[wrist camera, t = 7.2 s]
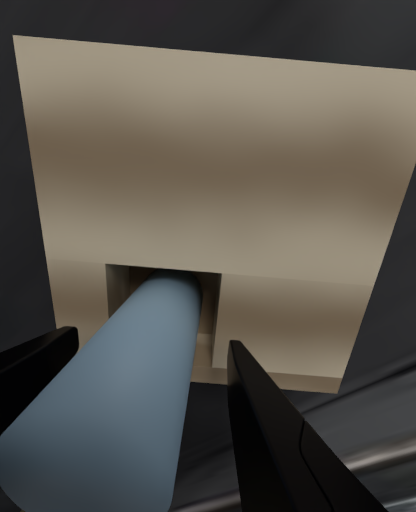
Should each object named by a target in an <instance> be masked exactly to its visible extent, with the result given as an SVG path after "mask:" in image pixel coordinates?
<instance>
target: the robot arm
mask: <svg viewBox="0 0 416 512" xmlns="http://www.w3.org/2000/svg"><path fill="white" fill-rule="evenodd" d="M78 349H79V335H78V329H77V327H75V326H63V327H61V328H58V329H56V330H54V331H51V332H49V333H46V334H44V335H42V336H39V337H37V338H34V339H32V340H30V341H27V342H25V343H22V344H20V345H18V346H15V347H13V348H10V349H8V350H6V351H3V352H1V353H0V436H1V435H2V434H3V432H4V431H5V430H6V429H7V428H8V427H9V426H10V425H11V424H12V423H13V422H14V421H15V420H16V418H17V417H18V416H19V415H20V414H21V413H22V412H23V411H24V410H25V409H26V408H27V407H28V406H29V404H30V403H31V402H32V401H33V400H34V399H35V398H36V397H37V396H38V395H39V394H40V393H41V392H42V390H43V389H44V388H45V387H46V386H47V385H48V384H49V383H50V382H51V381H52V380H53V379H54V378H55V376H56V375H57V374H58V373H59V372H60V371H61V370H62V369H63V368H64V367H65V366H66V365H67V364H68V362H69V361H70V360H71V359H72V358H73V357H74V356H75V355H76V353H77V351H78ZM227 387H228V408H229V417H230V424H231V431H232V439H233V446H234V454H235V461H236V469H237V476H238V483H239V491H240V498H241V506H242V512H388V511H387V510H386V509H385V508H384V506H383V505H382V504H381V503H380V502H379V501H378V500H377V499H376V498H375V497H374V496H373V495H372V494H371V493H370V492H369V491H368V490H367V488H366V487H365V486H364V485H363V484H362V483H361V482H360V481H359V480H358V479H357V478H356V477H355V476H354V475H353V474H352V472H351V471H350V470H349V469H348V468H347V467H346V466H345V465H344V464H343V463H342V462H341V460H340V459H339V458H338V457H337V456H336V455H335V454H334V453H333V451H332V450H331V449H330V448H329V447H328V446H327V444H326V443H325V442H324V441H323V440H322V439H321V437H320V436H319V435H318V434H317V433H316V432H315V430H314V429H313V428H312V427H311V426H310V424H309V423H308V422H307V421H304V420H305V419H304V417H303V416H302V415H301V414H300V412H299V411H298V410H297V409H296V407H295V406H294V405H293V404H292V403H291V401H290V400H289V399H288V398H287V397H286V395H285V394H284V393H283V392H282V390H281V389H280V388H279V387H278V386H277V384H276V383H275V382H274V381H273V380H272V378H271V377H270V376H269V375H268V373H267V372H266V371H265V370H264V369H263V367H262V366H261V365H260V364H259V363H258V361H257V360H256V359H255V358H254V356H253V355H252V354H251V353H250V352H249V350H248V349H247V348H246V347H245V346H244V344H243V343H242V342H241V341H240V340H230V341H229V346H228V354H227Z"/></svg>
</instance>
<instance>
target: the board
mask: <svg viewBox="0 0 416 512" xmlns="http://www.w3.org/2000/svg"><path fill="white" fill-rule="evenodd" d="M13 40H14V47H15V54H16V60H17V67H18V74H19V80H20V87H21V94H22V100H23V107H24V114H25V120H26V127H27V134H28V140H29V147H30V153H31V160H32V167H33V173H34V180H35V187H36V193H37V200H38V207H39V213H40V220H41V227H42V233H43V240H44V247H45V253H46V260H47V267H48V273H49V280H50V287H51V293H52V300H53V306H54V313H55V320H56V326H57V329H58V328H61V327H63V326H75V327H77V329H78V335H79V349H78V351H77V353H78V352H79V351H80V350H81V348H82V347H83V346H84V345H85V344H86V343H87V342H88V341H89V340H90V339H91V338H92V337H93V336H94V335H95V333H96V332H97V331H98V330H99V329H100V328H101V327H102V326H103V325H104V324H105V323H106V322H107V321H108V319H109V318H110V317H111V316H112V315H113V314H114V313H115V312H116V311H117V310H118V309H119V308H120V307H121V305H122V304H123V303H124V302H125V301H126V300H127V299H128V298H129V297H130V296H131V295H132V294H133V293H134V291H135V290H136V289H137V288H138V287H139V286H140V285H141V284H142V283H143V282H144V281H145V280H146V279H147V277H148V276H149V275H150V274H151V273H152V272H154V271H155V270H157V269H159V268H165V269H177V270H188V271H189V272H191V273H192V274H193V275H194V276H195V277H196V278H197V279H198V280H199V282H200V284H201V286H202V290H203V302H202V309H201V315H200V322H199V328H198V335H197V341H196V348H195V354H194V361H193V367H192V374H191V380H190V382H202V383H215V384H227V354H228V346H229V341H230V340H240V341H241V342H242V343H243V344H244V346H245V347H246V348H247V349H248V350H249V352H250V353H251V354H252V355H253V356H254V358H255V359H256V360H257V361H258V363H259V364H260V365H261V366H262V367H263V369H264V370H265V371H266V372H267V373H268V375H269V376H270V377H271V378H272V380H273V381H274V382H275V383H276V384H277V386H278V387H279V388H280V389H288V390H300V391H313V392H325V393H337V392H338V389H339V386H340V383H341V380H342V377H343V375H344V372H345V369H346V366H347V363H348V360H349V357H350V354H351V351H352V348H353V345H354V342H355V339H356V336H357V333H358V331H359V328H360V325H361V322H362V319H363V316H364V313H365V310H366V307H367V304H368V301H369V298H370V295H371V292H372V289H373V287H374V284H375V281H376V278H377V275H378V272H379V269H380V266H381V263H382V260H383V257H384V254H385V251H386V248H387V245H388V243H389V240H390V237H391V234H392V231H393V228H394V225H395V222H396V219H397V216H398V213H399V210H400V207H401V204H402V201H403V199H404V196H405V193H406V190H407V187H408V184H409V181H410V178H411V175H412V172H413V169H414V166H415V163H416V71H412V70H401V69H390V68H378V67H367V66H356V65H344V64H333V63H322V62H310V61H299V60H288V59H276V58H265V57H254V56H242V55H231V54H220V53H208V52H197V51H186V50H174V49H163V48H152V47H140V46H129V45H118V44H106V43H95V42H84V41H72V40H61V39H50V38H38V37H27V36H16V35H13ZM77 353H76V354H77Z"/></svg>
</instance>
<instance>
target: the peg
mask: <svg viewBox="0 0 416 512" xmlns="http://www.w3.org/2000/svg"><path fill="white" fill-rule="evenodd" d="M202 302H203V290H202V286H201V284H200V282H199V280H198V279H197V278H196V277H195V276H194V275H193V274H192V273H191V272H189V271H188V270H177V269H165V268H159V269H157V270H155V271H154V272H152V273H151V274H150V275H149V276H148V277H147V279H146V280H145V281H144V282H143V283H142V284H141V285H140V286H139V287H138V288H137V289H136V290H135V291H134V293H133V294H132V295H131V296H130V297H129V298H128V299H127V300H126V301H125V302H124V303H123V304H122V305H121V307H120V308H119V309H118V310H117V311H116V312H115V313H114V314H113V315H112V316H111V317H110V318H109V319H108V321H107V322H106V323H105V324H104V325H103V326H102V327H101V328H100V329H99V330H98V331H97V332H96V333H95V335H94V336H93V337H92V338H91V339H90V340H89V341H88V342H87V343H86V344H85V345H84V346H83V347H82V348H81V350H80V351H79V352H78V353H77V354H76V355H75V356H74V357H73V358H72V359H71V360H70V361H69V362H68V364H67V365H66V366H65V367H64V368H63V369H62V370H61V371H60V372H59V373H58V374H57V375H56V376H55V378H54V379H53V380H52V381H51V382H50V383H49V384H48V385H47V386H46V387H45V388H44V389H43V390H42V392H41V393H40V394H39V395H38V396H37V397H36V398H35V399H34V400H33V401H32V402H31V403H30V404H29V406H28V407H27V408H26V409H25V410H24V411H23V412H22V413H21V414H20V415H19V416H18V417H17V418H16V420H15V421H14V422H13V423H12V424H11V425H10V426H9V427H8V428H7V429H6V430H5V431H4V432H3V434H2V435H1V436H0V486H1V488H2V489H3V490H4V492H5V493H6V494H7V496H8V497H9V498H10V499H11V500H12V501H13V502H14V503H15V504H16V505H18V506H19V507H20V508H21V509H22V510H24V511H25V512H167V511H168V510H169V507H170V505H171V502H172V496H173V490H174V484H175V477H176V471H177V464H178V458H179V451H180V445H181V438H182V432H183V425H184V419H185V412H186V406H187V399H188V393H189V386H190V380H191V374H192V367H193V361H194V354H195V348H196V341H197V335H198V328H199V322H200V315H201V309H202Z"/></svg>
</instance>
